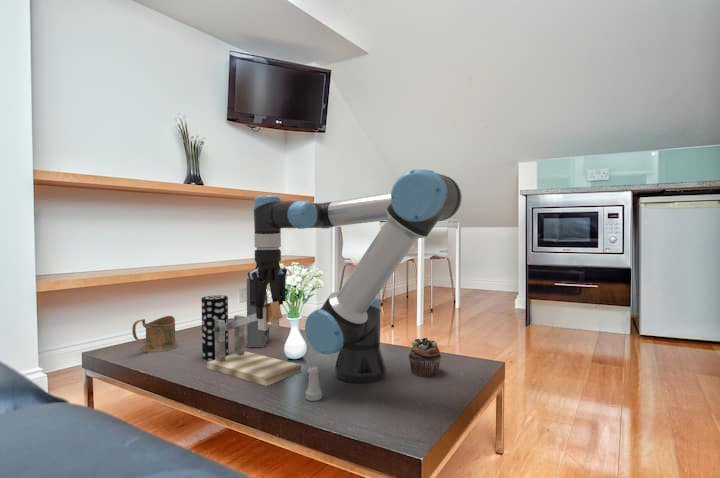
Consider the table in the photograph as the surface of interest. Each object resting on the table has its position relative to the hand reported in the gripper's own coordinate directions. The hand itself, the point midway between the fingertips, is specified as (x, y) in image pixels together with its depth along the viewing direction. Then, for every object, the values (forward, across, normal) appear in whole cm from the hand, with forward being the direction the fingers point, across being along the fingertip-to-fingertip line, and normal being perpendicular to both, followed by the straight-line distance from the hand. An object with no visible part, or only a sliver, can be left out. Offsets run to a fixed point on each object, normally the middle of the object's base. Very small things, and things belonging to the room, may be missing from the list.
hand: (268, 327), depth 124 cm
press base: (+14, 0, -7) cm, 15 cm away
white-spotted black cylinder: (+14, -2, -28) cm, 31 cm away
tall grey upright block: (+14, -22, -29) cm, 39 cm away
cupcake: (+14, -27, +37) cm, 48 cm away
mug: (+14, +5, -53) cm, 55 cm away
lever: (+1, 0, -7) cm, 7 cm away
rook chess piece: (+14, +6, +22) cm, 27 cm away
